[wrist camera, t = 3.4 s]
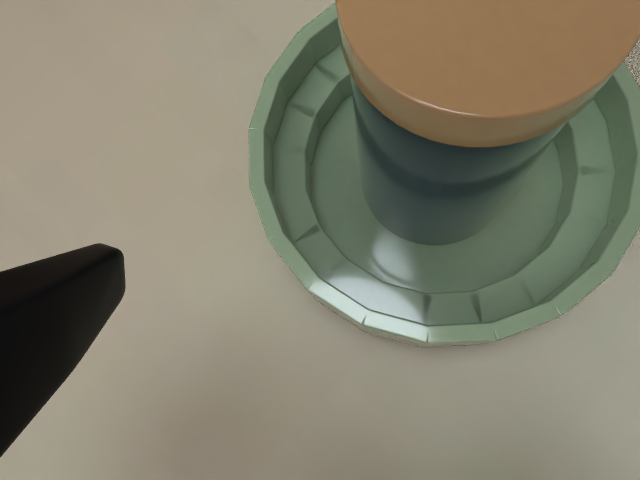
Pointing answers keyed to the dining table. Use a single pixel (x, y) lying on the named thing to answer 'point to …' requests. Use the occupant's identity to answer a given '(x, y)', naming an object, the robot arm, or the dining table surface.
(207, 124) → the dining table surface
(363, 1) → the canister
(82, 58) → the dining table surface
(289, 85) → the bowl
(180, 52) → the dining table surface
